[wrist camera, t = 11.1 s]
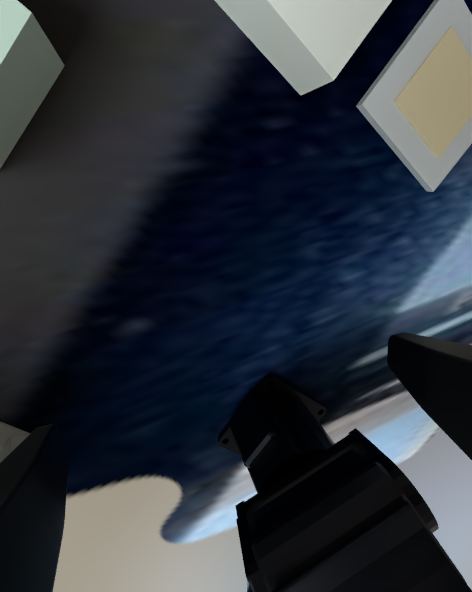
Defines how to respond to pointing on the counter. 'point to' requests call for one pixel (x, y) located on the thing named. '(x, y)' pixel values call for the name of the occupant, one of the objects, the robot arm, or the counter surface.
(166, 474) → the counter surface
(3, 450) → the skyscraper
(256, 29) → the cream block
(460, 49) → the tile
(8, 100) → the sage cube
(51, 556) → the robot arm
